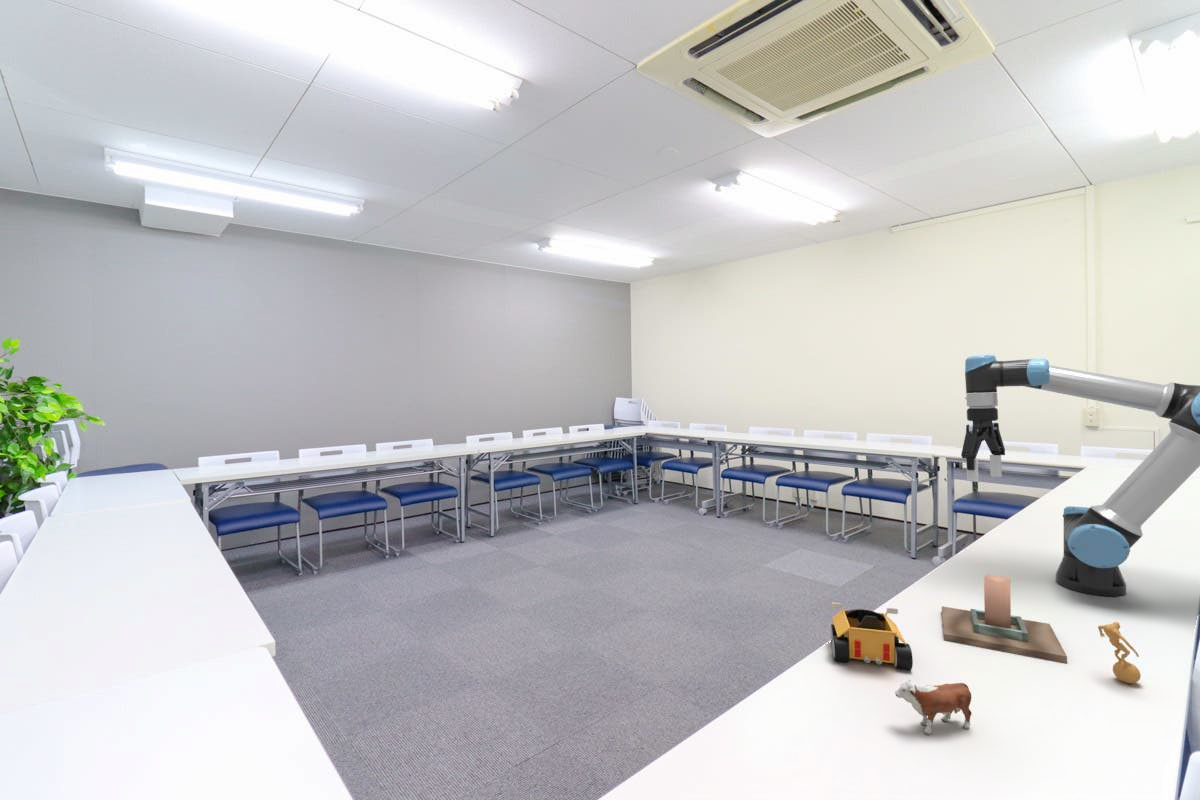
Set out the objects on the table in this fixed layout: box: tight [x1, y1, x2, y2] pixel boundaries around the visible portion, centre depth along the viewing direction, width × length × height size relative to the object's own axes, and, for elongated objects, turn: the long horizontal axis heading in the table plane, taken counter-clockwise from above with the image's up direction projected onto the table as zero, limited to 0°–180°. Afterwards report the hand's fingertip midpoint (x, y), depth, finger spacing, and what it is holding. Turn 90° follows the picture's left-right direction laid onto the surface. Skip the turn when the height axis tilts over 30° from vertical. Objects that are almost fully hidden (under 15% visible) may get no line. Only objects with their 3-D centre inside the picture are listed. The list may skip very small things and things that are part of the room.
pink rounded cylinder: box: [983, 574, 1012, 629], centre depth 127 cm, size 5×5×12 cm
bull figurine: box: [894, 679, 972, 736], centre depth 94 cm, size 4×13×8 cm, turn 95°
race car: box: [830, 602, 914, 671], centre depth 119 cm, size 15×15×11 cm
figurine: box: [1097, 621, 1142, 684], centre depth 107 cm, size 8×6×12 cm
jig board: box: [941, 606, 1068, 664], centre depth 127 cm, size 22×18×4 cm
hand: (984, 479), depth 159 cm, fingers open, 13 cm apart
